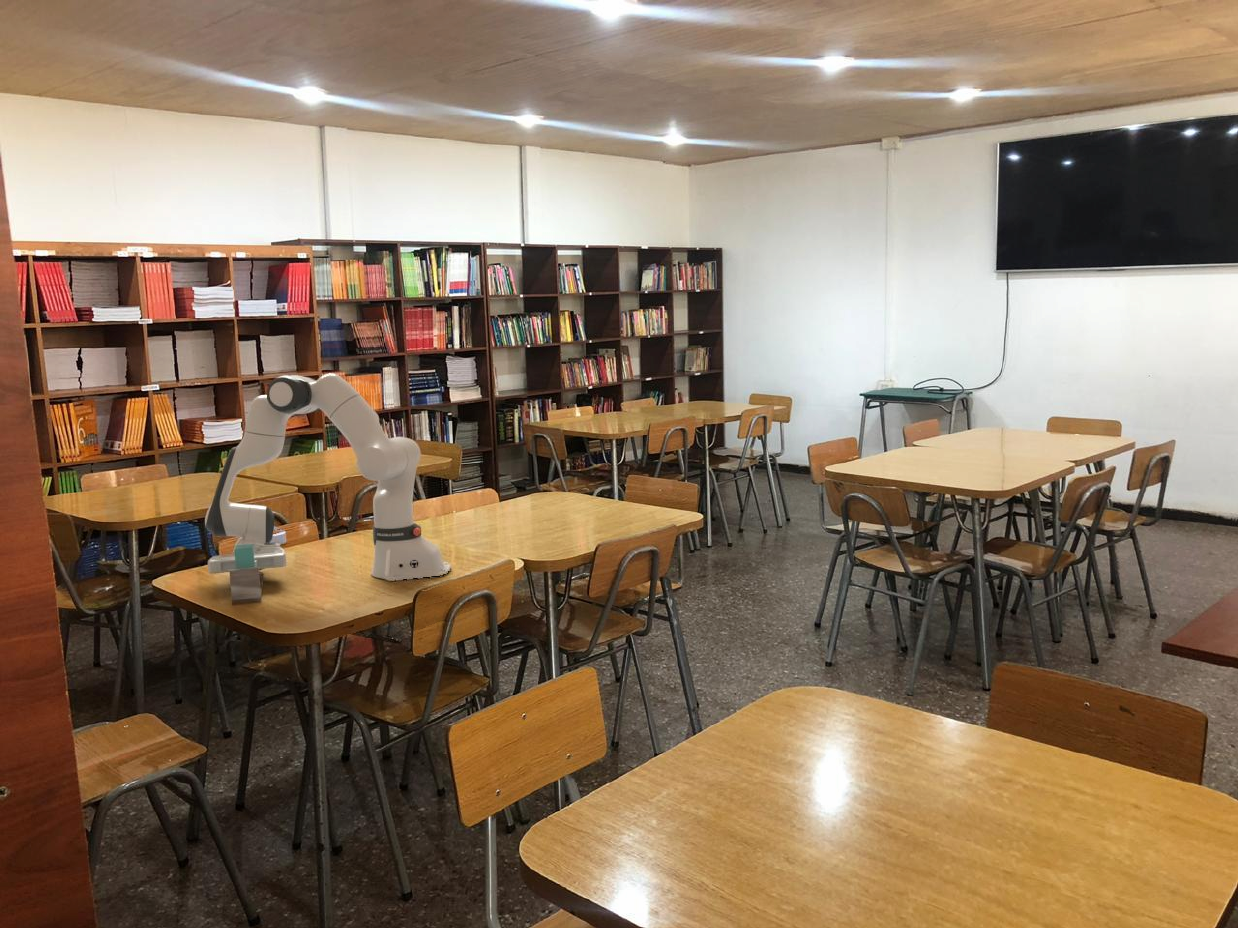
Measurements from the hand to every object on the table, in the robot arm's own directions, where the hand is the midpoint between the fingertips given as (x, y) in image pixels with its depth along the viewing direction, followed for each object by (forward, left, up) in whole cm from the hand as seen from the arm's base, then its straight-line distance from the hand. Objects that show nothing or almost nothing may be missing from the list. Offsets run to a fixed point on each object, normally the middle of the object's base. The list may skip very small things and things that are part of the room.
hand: (246, 568), depth 255 cm
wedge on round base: (+13, -64, -7) cm, 65 cm away
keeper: (0, +2, -5) cm, 6 cm away
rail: (+1, -3, -7) cm, 7 cm away
